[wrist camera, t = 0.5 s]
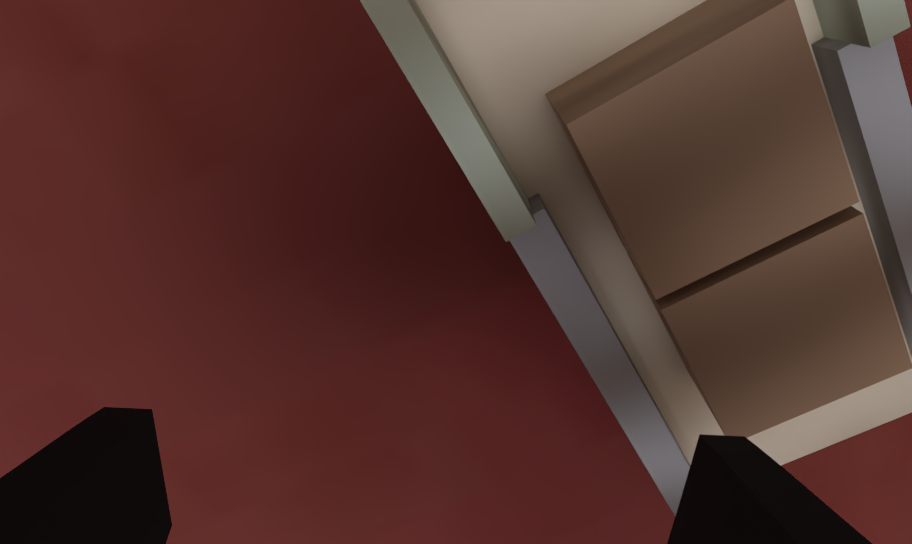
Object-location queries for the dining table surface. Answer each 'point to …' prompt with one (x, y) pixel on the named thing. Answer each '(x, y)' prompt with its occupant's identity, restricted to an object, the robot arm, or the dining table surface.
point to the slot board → (585, 220)
